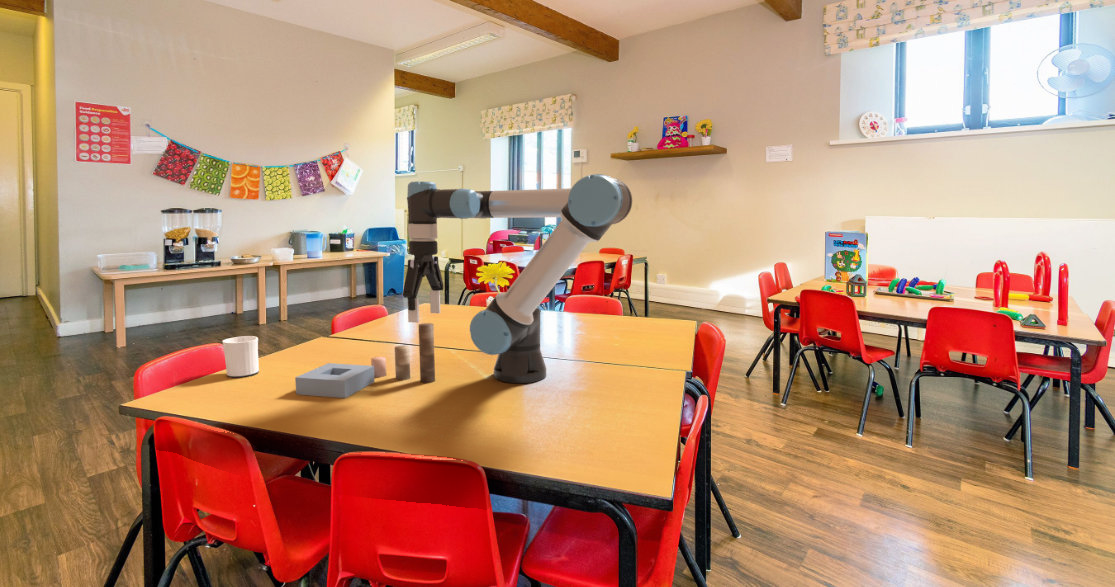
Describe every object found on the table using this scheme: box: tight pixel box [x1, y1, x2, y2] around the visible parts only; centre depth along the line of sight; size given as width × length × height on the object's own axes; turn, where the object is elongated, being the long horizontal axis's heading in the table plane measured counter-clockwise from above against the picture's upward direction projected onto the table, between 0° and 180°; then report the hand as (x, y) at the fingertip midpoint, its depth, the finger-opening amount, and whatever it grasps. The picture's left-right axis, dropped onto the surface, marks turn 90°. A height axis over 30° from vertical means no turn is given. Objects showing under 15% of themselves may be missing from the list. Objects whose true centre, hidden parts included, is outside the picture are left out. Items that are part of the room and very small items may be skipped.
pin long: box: [418, 322, 436, 384], centre depth 151 cm, size 4×4×16 cm
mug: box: [222, 335, 260, 379], centre depth 157 cm, size 11×9×10 cm
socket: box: [294, 362, 375, 399], centre depth 145 cm, size 14×14×4 cm
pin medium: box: [394, 345, 411, 381], centre depth 154 cm, size 4×4×9 cm
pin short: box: [370, 356, 387, 378], centre depth 157 cm, size 4×4×5 cm
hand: (425, 317), depth 149 cm, fingers open, 13 cm apart
